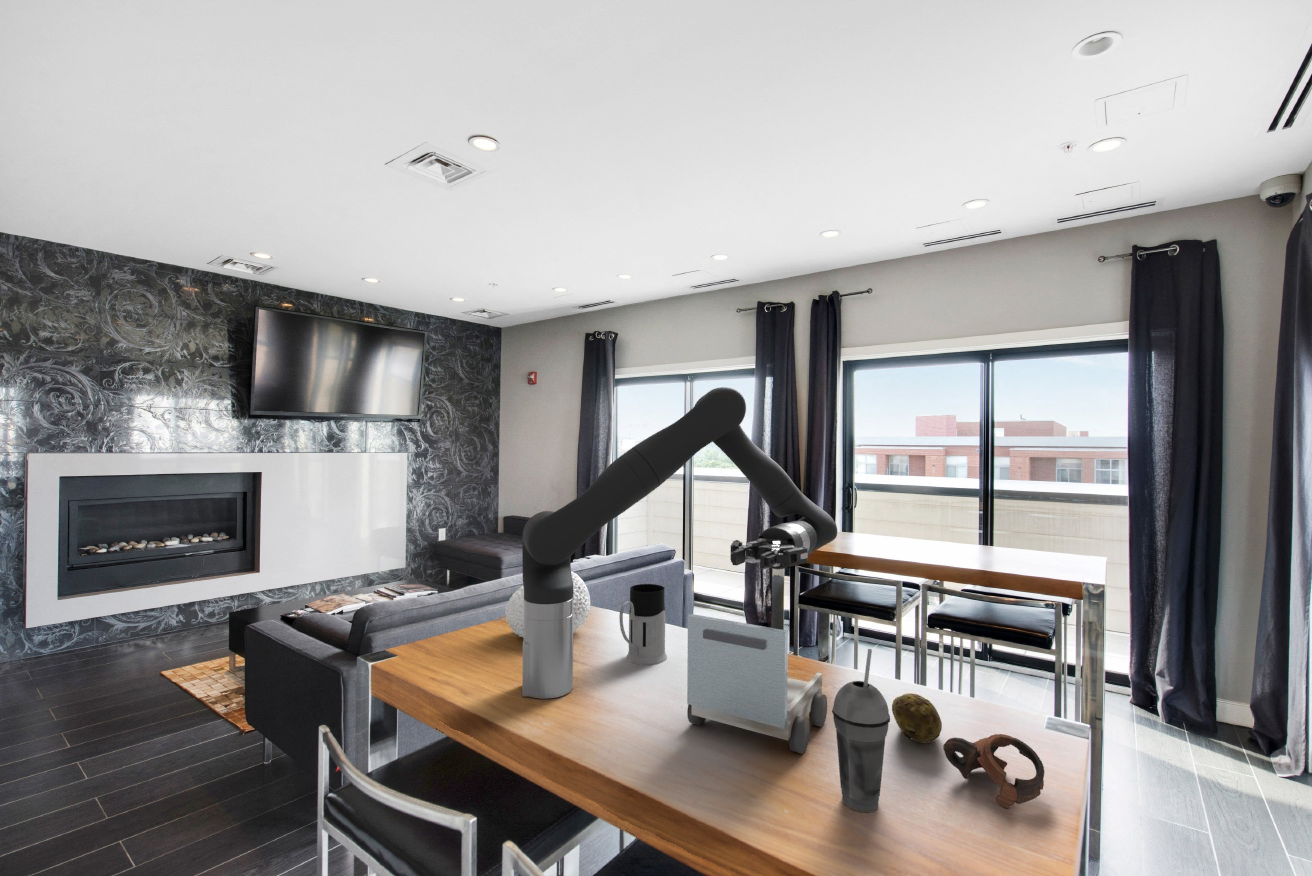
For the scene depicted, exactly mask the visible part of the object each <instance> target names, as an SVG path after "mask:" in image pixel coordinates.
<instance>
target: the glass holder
mask: <svg viewBox="0 0 1312 876" xmlns="http://www.w3.org/2000/svg"><path fill="white" fill-rule="evenodd" d="M665 592H666V591H665V586H663V585H659V584H656V583H655V584H653V583H641V584H635V585H631V586H630V587H629V601H628V600H627V601H624V603H622V605H621V606H620V610H619V615H618V616H619V617H618V619H619V628H620V633H621V634H622V638H623V639H624V641H626V643H627V644H628V653H627V655H626V660H627V661H629V662H630V663H632V664H637V665H641V666H642V665H643V666H645V665H646V666H650V664H653V665H658V664H662V663H664V662H665V661H666V660H667V659H668V656H667V653H666V604H665V597H666V595H665ZM627 605H629V610H628V636H627V634H626V631H625V627H624V620H623V619H624V610H625V607H626V606H627ZM663 661H664V662H663ZM661 662H662V663H661ZM657 663H658V664H657Z"/></svg>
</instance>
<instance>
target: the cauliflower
mask: <svg viewBox="0 0 1312 876" xmlns="http://www.w3.org/2000/svg"><path fill="white" fill-rule="evenodd" d="M571 574H572V580H573V634H574V632H575V631H578V629H579V628H581V627H582V626H583V625H584V624H585V623H586V621H587V619H588V616H589V614H590V609H591V602H592V601H591V596H590V592H589V589H588V587H587V585H586V583H585V582H584V580H583V578H581V577H580V576H579V574H577V573H575V572H574V571H572V570H571ZM504 609H505V612H504V614H505V616H506V617H505V620H507V624H508V625H509V627H510V629H511V630H512V631H513V633H514V634H515V635H517V636H518V637H519V638H522V639H524V587H523V585H522V586H521V587H518V589H517V590H515V592H514V593H513V594H512V595H511V597H509V600H508V601H507V604H505V607H504Z"/></svg>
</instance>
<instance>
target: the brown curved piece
mask: <svg viewBox="0 0 1312 876" xmlns="http://www.w3.org/2000/svg"><path fill="white" fill-rule="evenodd" d="M1010 745H1011V746H1013V747H1015V748H1016V749H1017V750H1018V752H1019V754H1020V755H1022V756H1023V757H1024V758H1027V759H1028V760H1030V761H1031V762H1032V764H1033V765H1034V769H1035V775H1034V777H1033V778H1028V779H1022V778H1018V777H1016V778H1014V784H1013V783H1011V782H1009V781H1007V779H1006V777H1007V772H1006V771H1005V769H1006V768H1007V766H1008V762H1007V761H1006V760H1004V759H1002V758H1000V757H999V756H997V755H996V754H995V753H996V751H997V750H998V749H999V748H1006V747H1009V746H1010ZM942 748H943V751H944V752H943V753H944V755H945V757H946V760H947V761H948V762H949V763H950V764H951V765H952V766H953V767H955V768H956V769H957V770H958V771H959V773H960V774H961V776H962V778H964V779H965V780H966V779H968V777H969V775H970V774H971V772H972V771H974V770H977V769H983V771H985V772H986V773H987V774H988V777H990V779H991V780H992V782H994V783H995V784H996V785H998V787H999V788H1000V790H999V794H998V795H997V796H996V797H995V801H996V804H998V805H1000V806H1001V807H1003V808H1005V809H1009V808H1011V807H1013V806H1014V805H1015V803H1016V804H1018V805H1021V804H1023V803H1027V802H1030V801H1033V800H1034V799H1037V797H1039V796H1040V795H1041V794H1042V793H1041V792H1042V790H1043V789H1044V786H1045V785H1044V783H1045V781H1044V777H1045V767H1044V764H1043V761H1042V760H1041V758H1040V757H1039V756H1038V754H1037V752H1036V751H1035V750H1034V749H1033V748H1032V747H1031V746H1030V745H1028V744H1027V743H1025V742H1024V741H1023V740H1020V739H1019V738H1016V737H1013V736H1010V735H1008V734H1001V733H996V734H992V735H990V736H989V737H988V736H987V737H983V738H980V739H978V740H976V741H974V742H971V741H968V740H966V739H964V738H960V737H951V738H949V739H947V740H946V741H945V742H944V744H943V746H942ZM956 752H957V753H959V754H961V755H962V757H961V756H959V755H958V754H957V753H956Z"/></svg>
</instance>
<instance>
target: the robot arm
mask: <svg viewBox="0 0 1312 876" xmlns="http://www.w3.org/2000/svg"><path fill="white" fill-rule="evenodd" d="M746 412H747V405H746V399H745V398H744V396H743V394H742V393H741V392H739V391H738V390H737V389H735V388H732V387H725V386H722V387H716V388H712V389H711V390H709V391H708V392H707V393H705V394H704V395H703V396H701V397H700V398H699V399H698V400H697V401H696V402H695V404H694V405H693V407H692V408H691V409H690V410H689V411H688V412H686V414H684V415H683V416H682V417H680V418H679V419H678V420H676V421H675V422H673V423H671V424H670V425H667V426H666V427H665V428H662V429H660V430H659V431H656V432H655V433H654V434H652V435H650V436H648V437H647V438H645V439H643V440H642V441H640V442H638V443H637V444H635V445H634V446H633V447H630V449H628V450H626V451H625V452H623V454H622V455H619V457H617V458H616V459H615V460H614V461H613V462H612V463H610V464H609V465H608V466H607V467H606V468H605V469H604V470H603V471H602V472H601V473H600V474H599V476H598V477H596V479H594V481H593V482H592V483H591V485H590V486H588V487H587V489H586V490H584V492H583V493H581V494H580V495H579V496H577V497H575V499H573V500H572V501H570V502H568V503H567V504H565V505H564V506H563V507H560V508H559V509H557V510H556V511H552V510H545V511H539V512H537V513H535V514H534V515H532V516H531V517H530V518H529V519H528V520H527V522H526V523H525V525H524V527H523V531H522V543H521V544H522V545H521V546H522V554H521V555H522V558H521V559H522V561H521V562H522V584H523V585H522V586H523V587H524V638H523V641H522V686H521V687H522V690H521V691H522V692H521V693H522V697H528V698H529V697H531V698H533V699H543V700H546V699H547V700H548V699H555V698H559V697H563V696H565V695H568V694H569V693H571V692H572V690H573V687H574V633H573V580H572V574H571V571H572V566H571V564H572V563H571V561H572V560H571V558H572V555H574V553H576V552H577V551H578V549H580V548H581V547H583V545H584V544H585V543H586V542H588V540H590V538H591V537H593V536H594V535H595V534H596V533H597V532H598V531H599V530H600V529H601V528H603V527H604V526H605V525H607V524H608V523H610V522H611V521H612V520H614V519H615V518H617V517H618V516H620V515H621V514H623V513H624V512H626V511H627V510H629V509H630V508H631V507H633V506H634V505H636V504H637V503H639V502H640V501H642V500H643V499H644V498H646V497H647V496H648V495H650V494H652V492H654V491H655V490H656V489H657V488H659V487H660V486H661V485H662V484H664V483H665V482H666V481H667V480H668V479H669V478H671V477H672V476H673V475H674V474H675V473H676V472H677V471H679V470H680V469H681V468H682V467H683V466H684V465H685V464H686V463H687V462H689V460H691V458H692V457H693V456H695V455H696V454H697V453H698V452H699V451H701V450H702V449H704V448H705V447H707V446H708V445H710V444H711V443H713V444H714V445H715V446H716V447H718V448H719V449H720V451H722V453H723V454H725V455H726V457H727V458H728V459H729V460H730V461H731V462H732V463H734V465H735V466H736V467H737V468H738V469H739V471H740V472H741V473H742V474H743V476H745V478H747V480H748V481H749V483H750V484H751V485H752V487H753V488H754V489H755V490H756V492H757V493H758V494H759V496H760V497H761V498H762V500H763V501H764V502H765V504H766V505H767V506H768V508H770V510H771V511H772V512H773V513H774V515H775V516H777V517H778V518H785V517H788V516H792V515H800V516H802V517H801V518H800V519H798V520H793V521H789V522H785V523H780V524H777V525H773V526H771V527H768V528H766V529H764V530H762V531H761V533H759V535H758V537H757V539H756V540H753V541H748V542H746V544H743V542H742V541H741V540H738V539H735V540H733V541H732V543H731V544H730V563H732V565H733V566H735V567H736V566H739V565H742V564H744V563H749V564H756V563H759V567H760V569H762V570H766V569H768V568H769V569H772V570H783V569H787V568H789V567H794V566H799V565H802V564H808V562H809V561H808V560H809V559H808V555H810V554H812V553H813V552H815V551H817V550H819V549H821V548H822V547H824V546H826V545H828V544H830V543H831V542H833V541H834V540H835V539H836V538H837V536H838V526H837V524H836V522H835V520H834V519H833V517H832V516H831V515H830V514H828V512H826V511H825V510H824V509H822V508H821V507H820V506H818V505H817V504H815V503H814V502H813V501H812V500H810V499H809V498H808V497H807V496H806V495H805V494H803V492H802V491H801V490H800V489H799V488H798V487H797V485H796V484H795V483H794V482H793V481H794V480H792V479H791V477H790V476H789V475H788V474H787V472H786V471H785V470H784V469H783V468H782V467H781V466H780V465H779V463H777V462H776V461H775V460H773V458H771V457H770V456H769V455H768V454H767V453H765V452H764V451H763V450H762V449H761V448H760V447H758V445H756V444H755V442H753V441H752V439H750V438H749V436H748V435H747V434H746V432H745V430H744V429H743V428H742V426H741V424H742V422H743V421H744V419H745V417H746Z"/></svg>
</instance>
